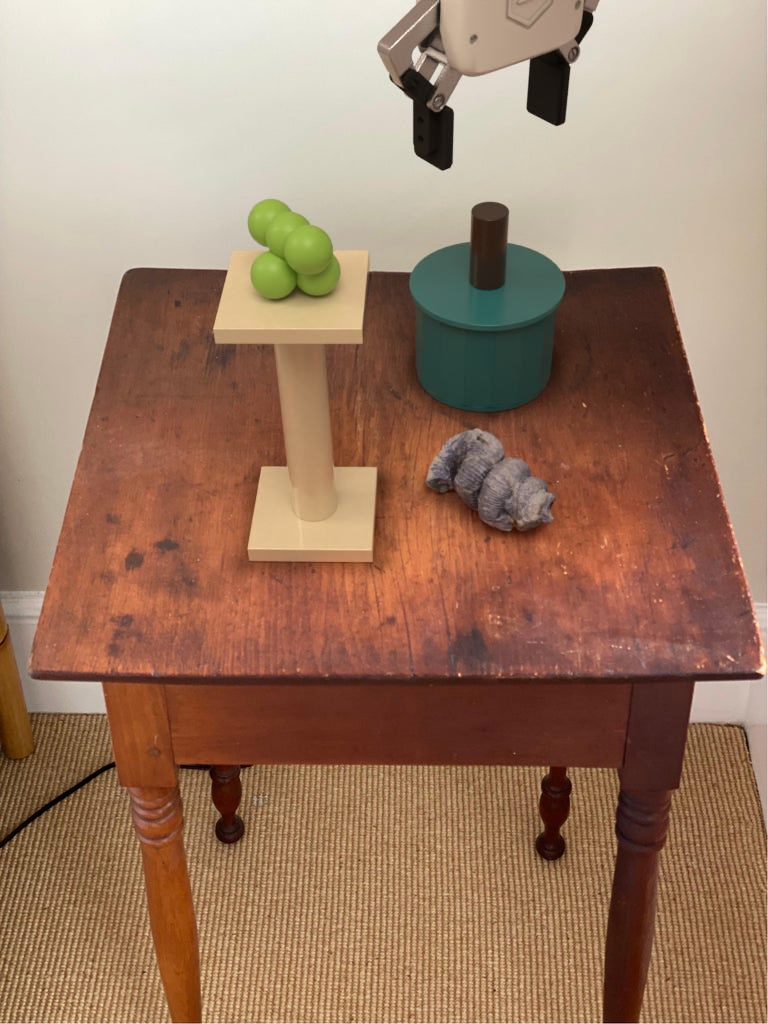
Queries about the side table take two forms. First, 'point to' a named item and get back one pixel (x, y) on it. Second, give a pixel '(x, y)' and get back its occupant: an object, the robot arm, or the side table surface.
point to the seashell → (491, 482)
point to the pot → (483, 363)
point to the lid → (487, 278)
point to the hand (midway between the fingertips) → (490, 139)
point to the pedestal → (305, 415)
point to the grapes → (290, 253)
